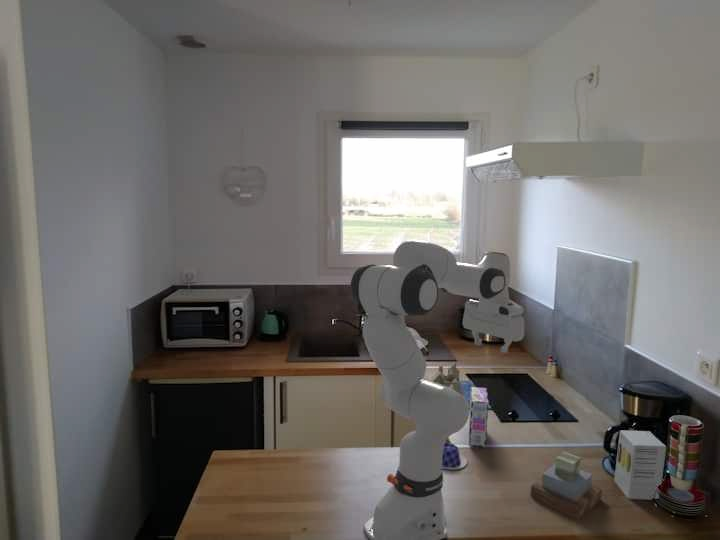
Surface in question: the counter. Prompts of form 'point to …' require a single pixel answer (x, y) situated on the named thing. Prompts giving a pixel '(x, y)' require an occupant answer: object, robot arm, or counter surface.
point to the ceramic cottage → (449, 378)
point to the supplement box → (639, 464)
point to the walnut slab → (567, 499)
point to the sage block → (567, 465)
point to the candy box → (478, 417)
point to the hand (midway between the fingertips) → (490, 348)
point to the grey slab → (567, 483)
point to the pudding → (452, 457)
